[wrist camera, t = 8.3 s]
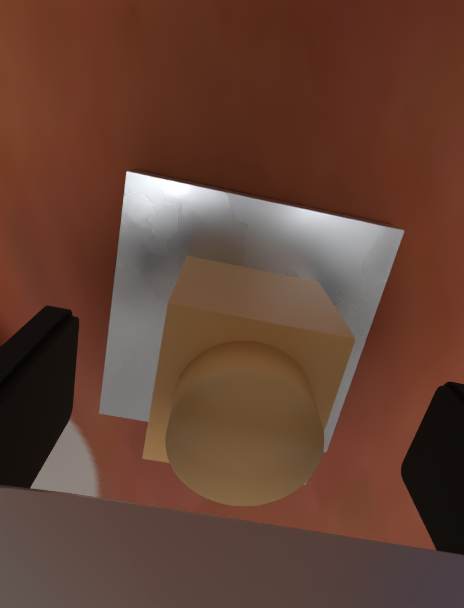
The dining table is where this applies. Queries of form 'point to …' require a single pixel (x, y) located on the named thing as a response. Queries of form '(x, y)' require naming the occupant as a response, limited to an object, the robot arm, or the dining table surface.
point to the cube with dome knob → (245, 381)
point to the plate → (236, 251)
